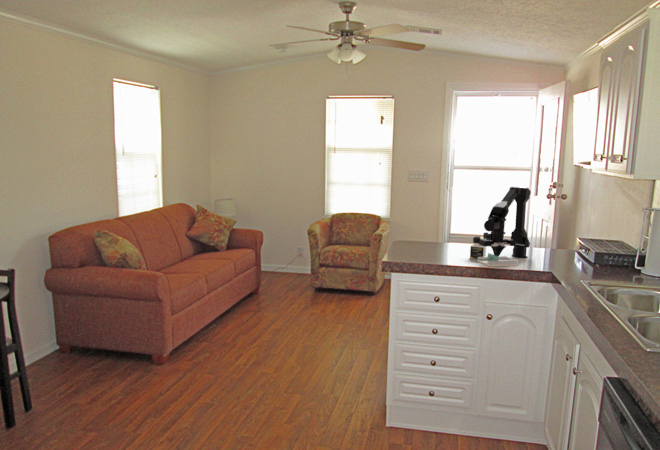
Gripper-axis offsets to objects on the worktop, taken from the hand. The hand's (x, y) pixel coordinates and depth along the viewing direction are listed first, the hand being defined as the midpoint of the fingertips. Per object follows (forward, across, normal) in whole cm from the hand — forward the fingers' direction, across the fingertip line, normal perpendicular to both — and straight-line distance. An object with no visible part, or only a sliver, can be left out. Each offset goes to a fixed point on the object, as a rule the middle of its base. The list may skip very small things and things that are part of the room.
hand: (496, 258), depth 270 cm
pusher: (+2, +5, 0) cm, 6 cm away
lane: (+3, -1, 0) cm, 3 cm away
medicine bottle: (+3, +3, -14) cm, 15 cm away
